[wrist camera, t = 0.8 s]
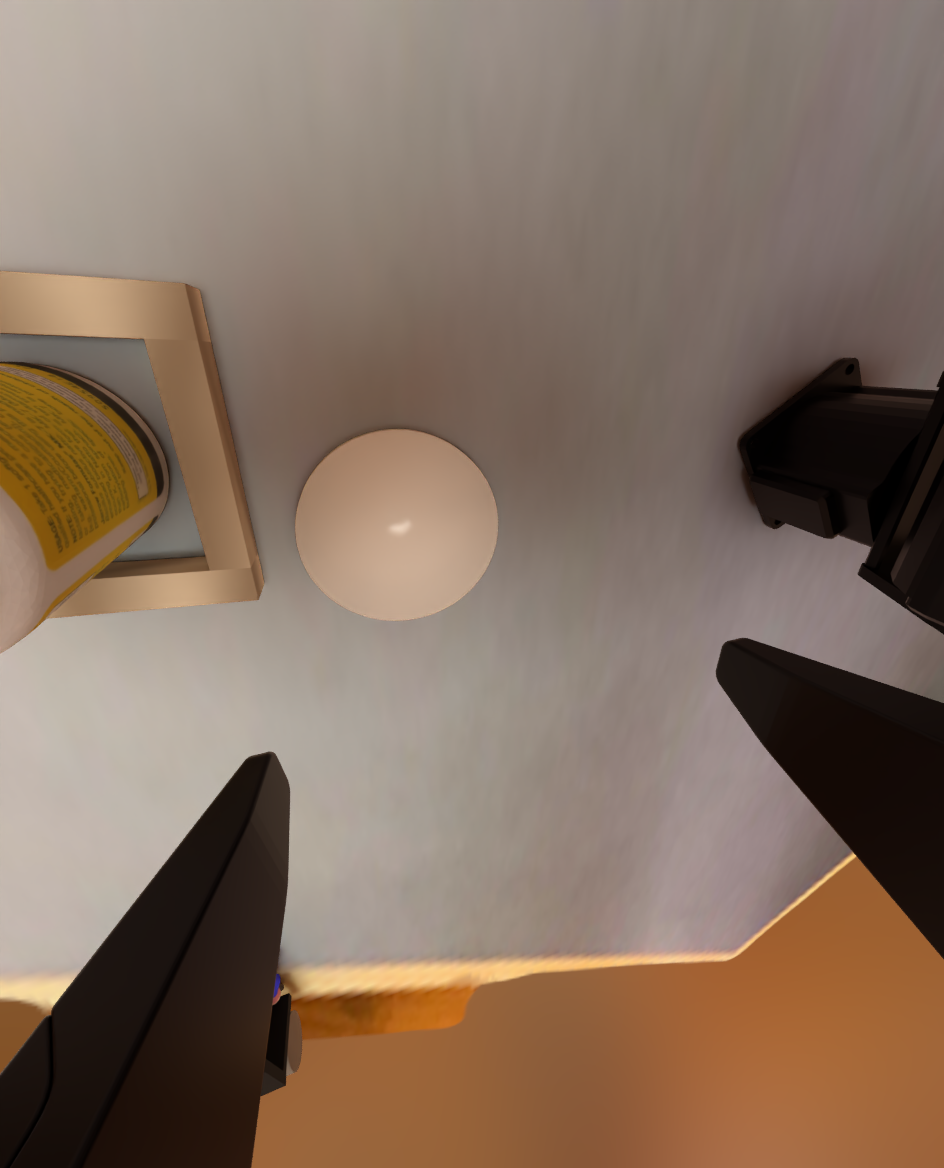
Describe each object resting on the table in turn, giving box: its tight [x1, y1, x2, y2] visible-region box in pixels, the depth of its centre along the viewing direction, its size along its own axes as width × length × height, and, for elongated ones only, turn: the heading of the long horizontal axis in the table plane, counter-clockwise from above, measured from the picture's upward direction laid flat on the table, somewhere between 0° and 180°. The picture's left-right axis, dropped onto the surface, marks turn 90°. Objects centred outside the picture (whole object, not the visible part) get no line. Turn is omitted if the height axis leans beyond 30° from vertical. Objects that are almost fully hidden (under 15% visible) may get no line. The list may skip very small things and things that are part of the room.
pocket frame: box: [0, 271, 264, 618], centre depth 15 cm, size 11×11×2 cm
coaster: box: [295, 429, 498, 621], centre depth 19 cm, size 9×9×1 cm
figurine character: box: [261, 974, 302, 1096], centre depth 30 cm, size 7×8×15 cm
